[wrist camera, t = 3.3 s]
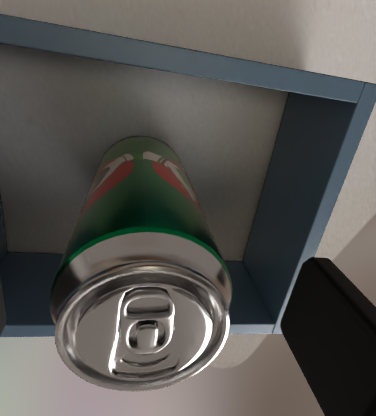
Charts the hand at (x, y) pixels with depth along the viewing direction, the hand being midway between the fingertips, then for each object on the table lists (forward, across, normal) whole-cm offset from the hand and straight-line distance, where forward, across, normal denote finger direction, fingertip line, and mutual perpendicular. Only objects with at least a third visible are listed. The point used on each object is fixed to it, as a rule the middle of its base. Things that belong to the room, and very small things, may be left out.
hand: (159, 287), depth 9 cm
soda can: (+10, +1, 0) cm, 10 cm away
